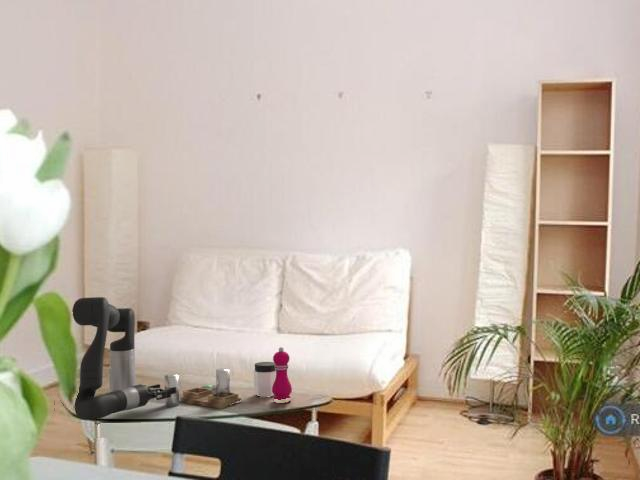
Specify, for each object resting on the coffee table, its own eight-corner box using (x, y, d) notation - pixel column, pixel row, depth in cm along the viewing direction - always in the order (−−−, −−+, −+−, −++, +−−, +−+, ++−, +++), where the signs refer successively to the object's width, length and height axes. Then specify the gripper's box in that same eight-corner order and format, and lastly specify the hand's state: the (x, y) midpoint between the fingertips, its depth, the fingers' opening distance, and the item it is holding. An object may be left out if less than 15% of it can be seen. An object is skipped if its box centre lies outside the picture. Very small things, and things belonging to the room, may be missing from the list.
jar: (280, 396, 270) (279, 364, 270) (260, 398, 266) (259, 366, 266) (271, 391, 278) (270, 360, 278) (251, 393, 275) (251, 362, 274)
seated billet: (213, 400, 259) (212, 370, 258) (223, 397, 263) (222, 367, 263) (223, 402, 256) (223, 371, 256) (233, 399, 260) (232, 369, 260)
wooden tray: (179, 401, 265) (179, 392, 265) (201, 395, 274) (201, 386, 274) (220, 408, 253) (220, 399, 252) (241, 402, 261) (241, 392, 261)
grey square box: (197, 394, 275) (197, 387, 275) (208, 391, 280) (208, 384, 280) (208, 396, 271) (208, 389, 271) (219, 393, 276) (219, 386, 276)
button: (203, 393, 275) (202, 386, 275) (208, 392, 278) (208, 384, 278) (208, 394, 273) (208, 387, 273) (214, 393, 276) (213, 385, 276)
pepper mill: (289, 404, 257) (288, 349, 257) (270, 403, 258) (268, 348, 258) (294, 399, 264) (293, 345, 264) (275, 399, 265) (274, 345, 265)
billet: (162, 405, 259) (161, 375, 258) (172, 403, 263) (171, 373, 262) (171, 407, 256) (171, 377, 255) (182, 404, 260) (181, 374, 260)
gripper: (144, 389, 240) (181, 380, 253) (117, 384, 249) (154, 375, 262) (145, 411, 240) (181, 401, 253) (118, 405, 249) (154, 396, 262)
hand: (167, 388), depth 257 cm, fingers open, 8 cm apart
